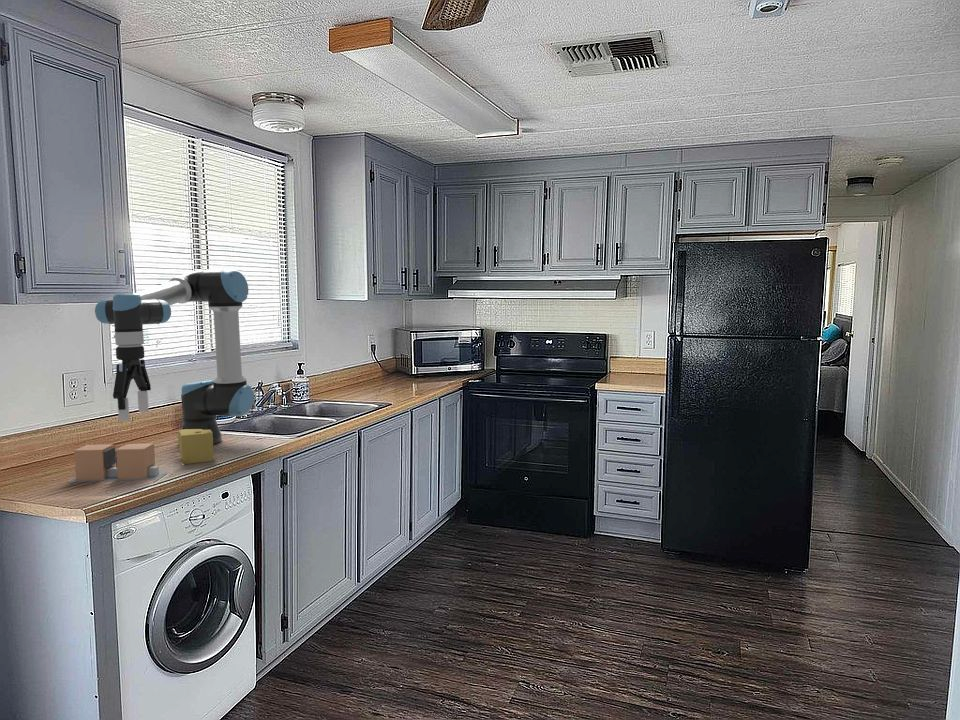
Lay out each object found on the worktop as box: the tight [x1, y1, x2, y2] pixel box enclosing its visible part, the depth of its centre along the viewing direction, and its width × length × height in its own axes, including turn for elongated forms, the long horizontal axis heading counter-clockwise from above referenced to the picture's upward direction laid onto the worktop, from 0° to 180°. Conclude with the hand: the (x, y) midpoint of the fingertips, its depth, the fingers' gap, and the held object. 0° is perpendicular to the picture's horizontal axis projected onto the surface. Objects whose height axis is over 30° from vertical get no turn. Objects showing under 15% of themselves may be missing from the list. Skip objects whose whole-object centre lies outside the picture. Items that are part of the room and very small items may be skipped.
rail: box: [66, 465, 167, 484], centre depth 206 cm, size 10×25×4 cm, turn 94°
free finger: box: [115, 443, 156, 479], centre depth 206 cm, size 7×9×9 cm
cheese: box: [177, 429, 215, 465], centre depth 229 cm, size 10×11×10 cm
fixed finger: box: [73, 443, 116, 480], centre depth 205 cm, size 7×9×9 cm
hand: (134, 416), depth 205 cm, fingers open, 13 cm apart
